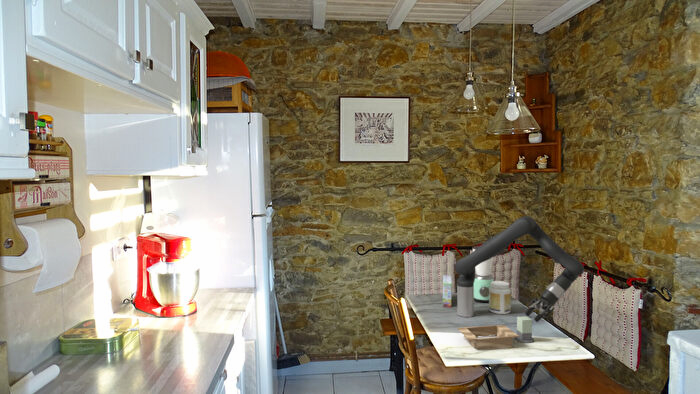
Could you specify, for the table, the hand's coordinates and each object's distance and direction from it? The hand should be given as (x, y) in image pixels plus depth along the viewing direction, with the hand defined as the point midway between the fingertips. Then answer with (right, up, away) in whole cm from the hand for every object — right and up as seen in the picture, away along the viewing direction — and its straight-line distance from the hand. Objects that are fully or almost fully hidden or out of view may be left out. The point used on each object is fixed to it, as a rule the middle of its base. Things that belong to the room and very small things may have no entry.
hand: (530, 317), depth 214 cm
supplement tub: (0, -8, +43) cm, 44 cm away
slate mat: (-3, -11, 0) cm, 11 cm away
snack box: (-27, -8, +63) cm, 69 cm away
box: (-3, -10, 0) cm, 11 cm away
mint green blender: (-3, -7, +66) cm, 66 cm away
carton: (-22, -11, -2) cm, 25 cm away
